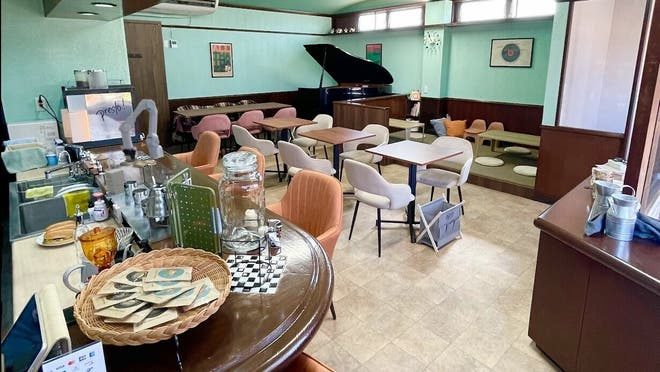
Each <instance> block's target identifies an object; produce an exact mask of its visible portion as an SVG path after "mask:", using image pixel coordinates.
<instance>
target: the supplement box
mask: <svg viewBox="0 0 660 372" xmlns="http://www.w3.org/2000/svg"><path fill="white" fill-rule="evenodd" d="M104 175H105V179H106V184H107V188H108V192H109V193H110V192H111V194H113V193H115V194H114V195H118V194H120V193H124V192H125V191H124V183H126V184H127V181H126V176H125V172H124V170H123V169H122V168H121V169H120V168H113V169H111V170H109V171H106V172H104ZM117 193H118V194H117Z"/></svg>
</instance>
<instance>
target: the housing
mask: <svg viewBox="0 0 660 372" xmlns="http://www.w3.org/2000/svg"><path fill="white" fill-rule="evenodd" d="M135 155H137V152H136V153H135ZM123 157H125V159H124V162H125V161H133V160H136V159H138V158H137V157H136V156H135V159H133V160H132V159H131V156H130V153H129V154H126V155H125V154H123Z"/></svg>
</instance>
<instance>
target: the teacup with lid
mask: <svg viewBox="0 0 660 372" xmlns="http://www.w3.org/2000/svg"><path fill="white" fill-rule="evenodd" d="M93 159H94V161H95V160H96V161H98V162H100V163H101V165H102V166H103V169H104V170H112V167H113V166H115V162H116V161H115V159H113V158H110V157H109V155H108V156H107V155H103V154H102V153H100V154H99V155H98V156H96V157H95V158H93ZM110 161H113V163H112V164H111V162H110Z"/></svg>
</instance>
